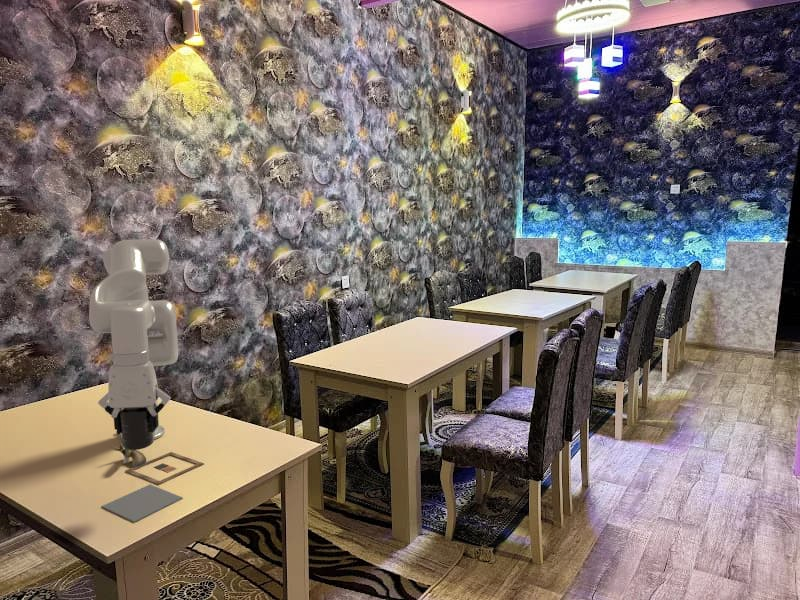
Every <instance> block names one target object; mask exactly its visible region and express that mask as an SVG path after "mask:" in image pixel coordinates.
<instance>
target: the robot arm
mask: <svg viewBox="0 0 800 600" xmlns="http://www.w3.org/2000/svg"><path fill="white" fill-rule="evenodd" d="M102 260H103V264H104V268H105V269H106V272H107V274H108V276H107V277H105V278H104V279H102V280H101V281H100V282H99V283H98V284H97V285H96V286H95V287H94V289H93V290H92V292H91V294H90V298H89V311H88V312H89V313H88V315H89V316H88V317H89V318H88V319H89V324H90V327H91V329H92V330H93V331H94V332H96V333H99V334H111V343H112V345H111V346H112V352H111V353H109V354H107V355H106V359H107V361H112V365H110V367H109V372H108V386H107V387H108V392H107V393H106V394H105V395H104V396H103V397H101V399H99V400H98V401H97V404H98V405H99V406H100V407H101V408H103V409H104V411H105V412H106V413H107V414H109V415H110V416H111V418H112V419H113V426H114V430H116V435H120V440H122V434H121V424H120V412H121V410H122V409H123V408H143V407H147V409H148V410H149V412H150V414H151V415H150V417H149V424H150V432H153V438H154V440H156V439H158V438H160V437H163V435H164V434H165V431H166V430H165V427H164V426H162V425H160V420H159V413H160V412H161V411H162V410H163V408H165V406H166V405H167V404H168V403H169V401H170V400H171V396H170V395H169V394H167V393H166V392H165V391H163V390H162V389H161V388H159V385H158V379H157V376H156V375H157V374H156V371H155V367H158V366H159V367H160V366H168V365H173V364H175V363H177V362H178V361H177V360H178V358H179V340H178V329H177V328H178V327H177V326H178V325H177V315H176V310H175V306H174V305H173V304H172V302H171V301H169V300H165V299H164V300H163V299H160V300H149V294H148V286H147V276H149V275H163V274H164V275H165V273H166V272H167V271H168V269H169V266H170V253H169V249H168V246H167V245H166V243H165V242H164V241H162V240H161V239H156V238H147V239H146V238H145V239H137V238H136V239H123V240H119V241H117V242H116V243H114V244H113V246H112V247H110V248H107V249H105V250H104V251H103V254H102ZM150 332H151V333H152V332H160V333H161V334H158V335H155V334H154V335H148V333H150ZM159 398H160V400H161V401H160V402H159V404H158V400H159Z"/></svg>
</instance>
